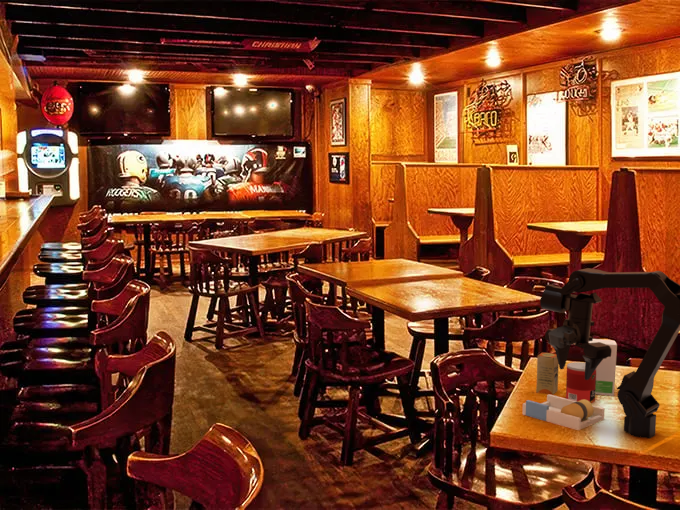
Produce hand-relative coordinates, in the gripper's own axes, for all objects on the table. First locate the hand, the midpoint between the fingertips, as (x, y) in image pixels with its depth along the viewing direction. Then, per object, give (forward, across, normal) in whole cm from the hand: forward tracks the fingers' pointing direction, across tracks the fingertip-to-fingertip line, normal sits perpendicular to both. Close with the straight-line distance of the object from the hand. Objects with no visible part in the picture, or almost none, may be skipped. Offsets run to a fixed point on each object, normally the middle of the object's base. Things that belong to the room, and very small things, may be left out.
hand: (574, 374), depth 202 cm
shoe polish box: (+14, -20, +11) cm, 27 cm away
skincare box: (+13, -15, +27) cm, 34 cm away
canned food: (+13, -10, +14) cm, 22 cm away
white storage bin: (+13, -1, -2) cm, 13 cm away
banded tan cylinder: (+12, +3, -1) cm, 12 cm away
